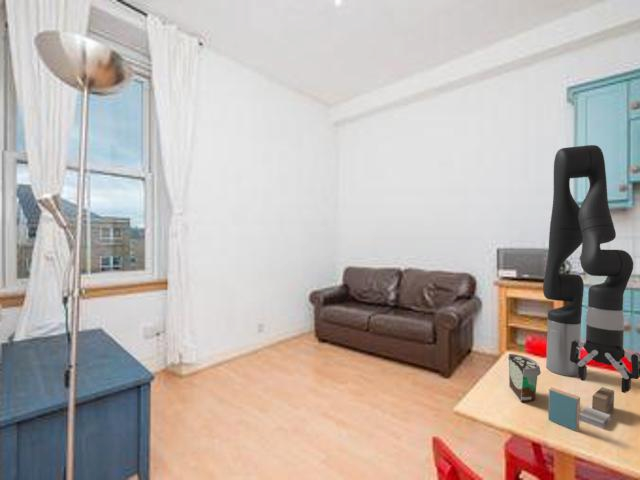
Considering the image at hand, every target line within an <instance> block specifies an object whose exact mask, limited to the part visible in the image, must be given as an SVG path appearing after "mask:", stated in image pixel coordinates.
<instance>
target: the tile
mask: <svg viewBox="0 0 640 480" xmlns="http://www.w3.org/2000/svg"><path fill="white" fill-rule="evenodd" d="M580 407H581V396H579V395H575V394H572V393H570V392H567V391H564V390H560V389H557V388H555V387H550V388H549V389H548V417H547V418H548V421H550V422H552V423H554V424H558V425H560V426H562V427H564V428H567V429H570V430H572V431H575V432H578V431H579V430H580V420H579V416H580V413H581V411H580V410H581V409H580Z"/></svg>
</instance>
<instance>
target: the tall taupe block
mask: <svg viewBox="0 0 640 480" xmlns="http://www.w3.org/2000/svg"><path fill="white" fill-rule="evenodd" d="M614 403H615V390H613V389H610V388H606V387H603V386H602V387H600V388H599V389H597V391H596V392H595V393H593V395H592V403H591V404H592V406H591V407H589V406H586V407H585V408H584V409H583V410H582V411H580V416H579V422H584V423H586V424H588V425H591V426H594V427H596V428H598V429H599V428H600V429H602V430H604V429H605V427H606V426H607V425H608V424H609V423H610V421H611V413H612V411H613V410H614V408H615V407H614V406H615V404H614Z"/></svg>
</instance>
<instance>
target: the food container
mask: <svg viewBox="0 0 640 480" xmlns="http://www.w3.org/2000/svg"><path fill="white" fill-rule="evenodd" d="M507 359H508V379H509V380H508V381H509V384H508V385H509V388H510V391H512V393H513V394H514V395H515V397H516V398H517V399H518V400H519V402H520V403H527V404H528V403H532V402H534V401H535V400H536V393H537V392H536V391H537V385H538V384H537V383H538V376H540V375H541V374H542V373H541V372H542V371H541V367H540V366H539V363H538V362H537V361H536V360H534V359H532V358H529V357H527V356H524V355H520V354H514V353H509V354H508V358H507Z"/></svg>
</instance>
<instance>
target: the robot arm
mask: <svg viewBox="0 0 640 480" xmlns="http://www.w3.org/2000/svg"><path fill="white" fill-rule="evenodd" d="M579 178H580V179H581V178H588V180H589V189H588V192H587V194H586V196H585V197H584V199H583V201H582V203H581V204H580V206H579V204H578V203H577V202H576V200H575V198H574V197H573V194H572V193H571V186H570V185H571V184H570V183H571V181H570V180H571V179H579ZM607 183H608V182H607V172H606V163H605V156H604V153H603V150H602V148H601V147H600V146H599V145H595V144H590V145H589V144H588V145H579V146H571V147H562V148H560V149H558V150H557V152H556V154H555V156H554V161H553V196H552V206H551V207H552V208H551V216H550V223H549V233H548V234H549V235H548V250H547V251H548V253H547V261H546V266H545V272H544V277H543V285H542V292H543V295H544V298H546V299H547V300H550V301H557V302H567V304H565V305H564V306H560V307H556V308H553V309H550V310H547V311H548V312H547V323H546V324H547V331H546V335H547V336H546V359H545V361H546V365H545V367H546V369H547V370H548V371H550V372H553V373H554V374H558V375H560V376H561V375H563V376H566V377H567V376H569V377H576V376H578V378H579V379H580V381H583V382H585V381H586V380H587V376H588V375H587V373H588V372H587V369H588V368H587V365H586V364H588V363H590V361H594V362H595V363H598V364H599V363H600V364H604V365H607V366H613V367H614V369H615V370H616V371H618V372H619V374H620V375H621V377H622V378H621V389H620V390H621V393H624V394H626V393H628V392H629V391H631V386H632V380H639V378H640V353H639V352H634V353H633V352H632V353H631V352H627V351H625V350H624V336H625V335H624V331H625V330H624V329H625V327H624V326H625V325H624V324H625V317H624V293H625V291H626V289H627V286H628V283H629V282H630V279H631V276H632V274H633V273H632V272H633V271H634V260H633V258H632V256H631V254H630V253H629V252H627V251H626V250H623V249H601V245H602V244H606V243H610V242H612V241H614V240H615V239H616V236H617V235H616V234H617V233H616V228H615V225H614V221H613V218H612V214H611V211H610V207H609V200H608V199H609V198H608V188H607V187H608V185H607ZM579 247H581V253H580V267H581V268H582V270H583V271H584V272H585V273H586V274H587V275H589V276H592V277H593V276H594V277H606V278H605V280H604V282H601V283H598V284H597V283H596V284H594V285H590V287H588V297H587V302H588V303H587V310H586V311H587V312H586V318H585V323H586V328H585V342H582V341H581V340H582V339H581V338H582V337H581V334H582V315H583V314H582V313H583V302H584V301H583V300H584V292H585V291H584V290H585V289H584V287H585V285H584V284H585V283H584V280H583V277H582V276H581V275H579V274H576V273H573V274H572V273H559V272H560V270H561V268H562V266H563V265H564V263H565V261H566V260H567V259H568V258H569V257H570V256H571V255H573V254H574V253H575V251H577V249H578V248H579ZM582 348H584V350H585V351H586V353H587V355H585V356H584V357H582V358H581V350H582ZM623 358H626V359H627V361H628V362H630V363H631V372H630V370H629V369H628V368H627V366H626V364H625V363H624V361H622V359H623Z"/></svg>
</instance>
